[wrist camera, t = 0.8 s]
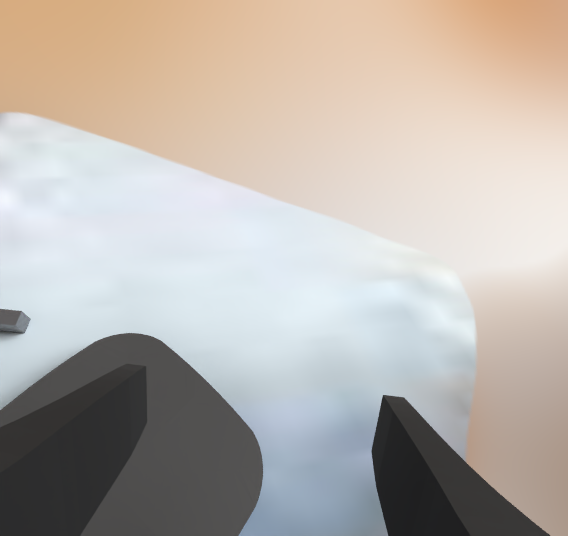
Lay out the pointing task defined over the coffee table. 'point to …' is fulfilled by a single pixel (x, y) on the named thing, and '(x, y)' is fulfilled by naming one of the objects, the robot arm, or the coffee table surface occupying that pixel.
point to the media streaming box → (164, 445)
